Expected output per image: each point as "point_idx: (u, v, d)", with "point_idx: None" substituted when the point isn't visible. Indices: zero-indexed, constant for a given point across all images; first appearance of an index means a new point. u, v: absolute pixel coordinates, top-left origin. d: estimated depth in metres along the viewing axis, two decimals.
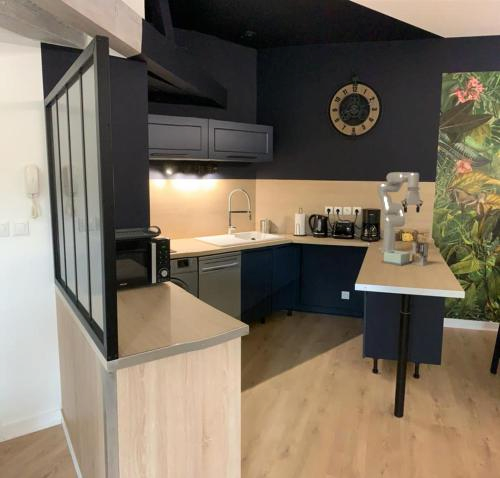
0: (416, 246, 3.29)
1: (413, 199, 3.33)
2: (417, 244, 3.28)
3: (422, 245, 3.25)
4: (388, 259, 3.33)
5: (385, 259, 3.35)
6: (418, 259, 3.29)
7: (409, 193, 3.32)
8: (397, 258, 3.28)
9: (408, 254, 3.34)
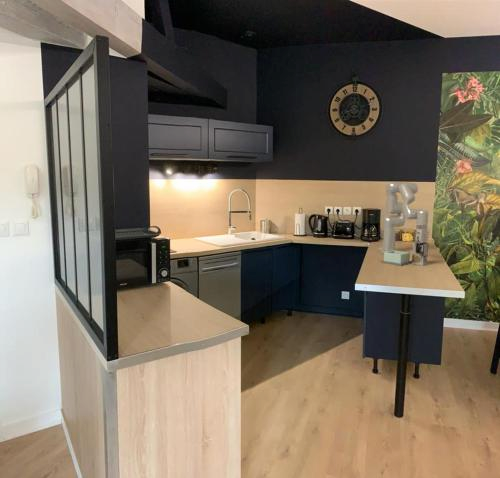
0: None
1: None
2: None
3: (422, 245, 3.25)
4: (388, 259, 3.33)
5: (385, 259, 3.35)
6: (418, 259, 3.29)
7: None
8: (397, 258, 3.28)
9: (408, 254, 3.34)
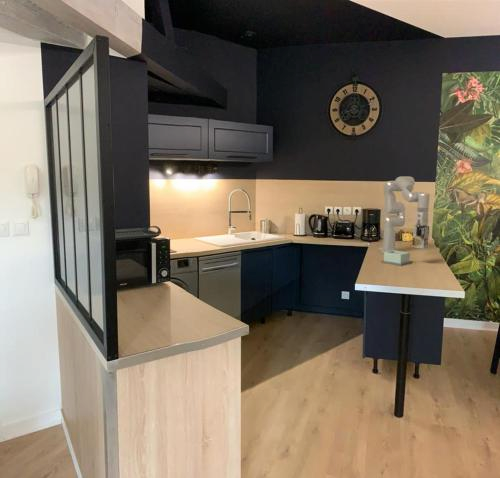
0: None
1: None
2: None
3: (423, 228, 3.24)
4: (388, 259, 3.33)
5: (385, 259, 3.35)
6: (419, 242, 3.27)
7: None
8: (397, 258, 3.28)
9: (408, 254, 3.34)
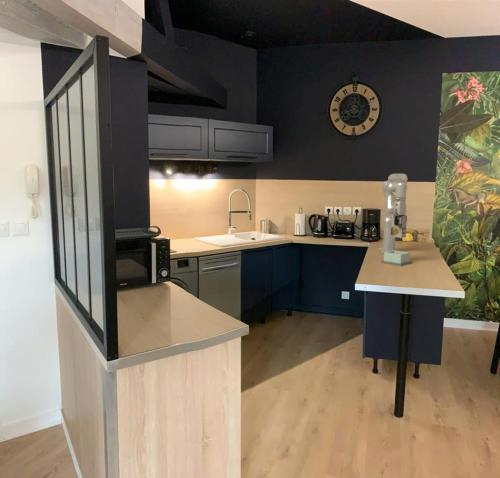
0: None
1: None
2: None
3: (400, 217, 3.27)
4: (388, 259, 3.33)
5: (385, 259, 3.35)
6: (397, 232, 3.30)
7: None
8: (397, 258, 3.28)
9: (408, 254, 3.34)
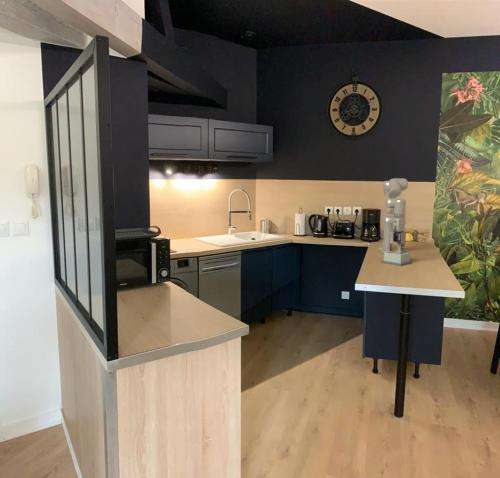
0: None
1: None
2: None
3: (399, 234, 3.29)
4: (388, 259, 3.33)
5: (385, 259, 3.35)
6: (395, 248, 3.32)
7: None
8: (397, 258, 3.28)
9: (408, 254, 3.34)
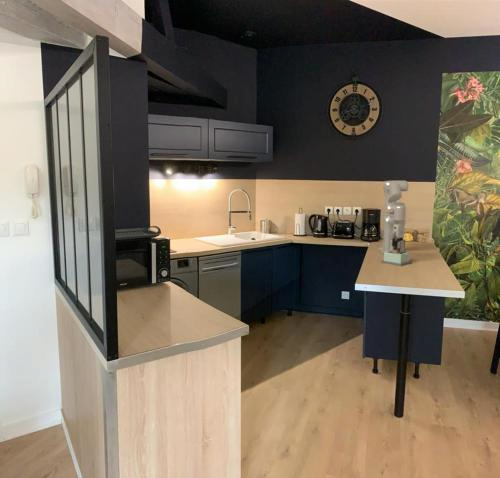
0: None
1: None
2: None
3: (399, 242, 3.30)
4: (388, 259, 3.33)
5: (385, 259, 3.35)
6: None
7: None
8: (397, 258, 3.28)
9: (408, 254, 3.34)
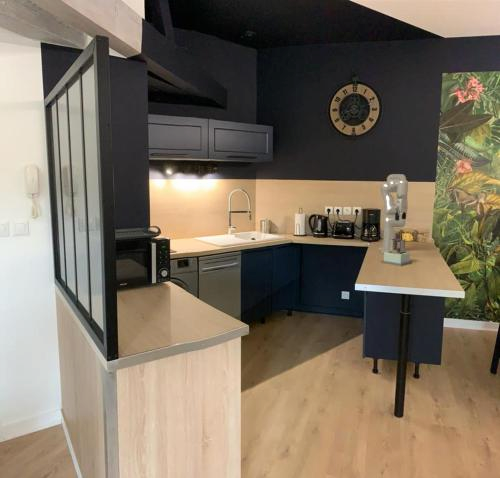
0: (393, 243, 3.33)
1: None
2: (394, 241, 3.33)
3: (399, 242, 3.30)
4: (388, 259, 3.33)
5: (385, 259, 3.35)
6: None
7: None
8: (397, 258, 3.28)
9: (408, 254, 3.34)
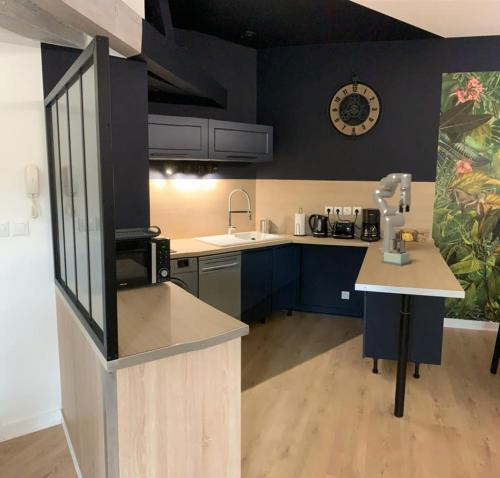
0: (393, 243, 3.33)
1: None
2: (394, 241, 3.33)
3: (399, 242, 3.30)
4: (388, 259, 3.33)
5: (385, 259, 3.35)
6: None
7: None
8: (397, 258, 3.28)
9: (408, 254, 3.34)
